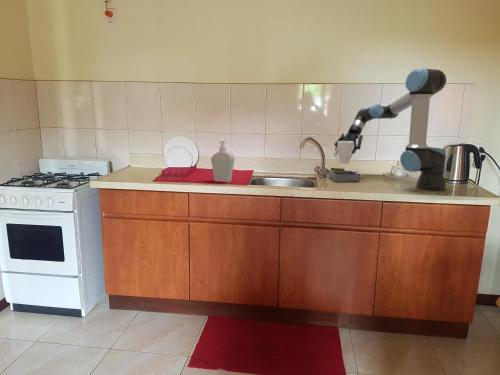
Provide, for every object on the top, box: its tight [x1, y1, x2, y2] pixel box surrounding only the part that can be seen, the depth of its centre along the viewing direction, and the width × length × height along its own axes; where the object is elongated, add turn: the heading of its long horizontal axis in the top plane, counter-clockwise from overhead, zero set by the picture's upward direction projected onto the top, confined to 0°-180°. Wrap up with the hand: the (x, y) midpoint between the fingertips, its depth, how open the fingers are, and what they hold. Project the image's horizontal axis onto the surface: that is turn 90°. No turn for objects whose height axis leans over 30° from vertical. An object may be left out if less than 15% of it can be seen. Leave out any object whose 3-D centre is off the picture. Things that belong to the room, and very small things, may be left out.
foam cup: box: [337, 140, 354, 164], centre depth 234 cm, size 10×9×13 cm
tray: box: [328, 170, 360, 183], centre depth 237 cm, size 15×15×4 cm
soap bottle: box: [210, 138, 235, 183], centre depth 228 cm, size 12×10×26 cm
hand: (342, 156), depth 232 cm, fingers closed on foam cup, 9 cm apart
